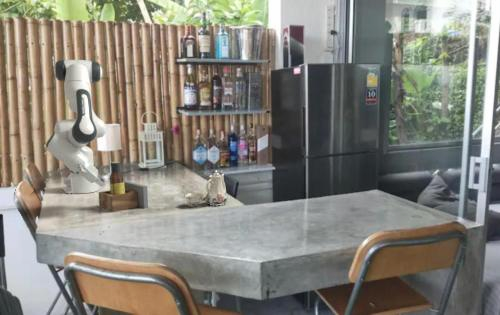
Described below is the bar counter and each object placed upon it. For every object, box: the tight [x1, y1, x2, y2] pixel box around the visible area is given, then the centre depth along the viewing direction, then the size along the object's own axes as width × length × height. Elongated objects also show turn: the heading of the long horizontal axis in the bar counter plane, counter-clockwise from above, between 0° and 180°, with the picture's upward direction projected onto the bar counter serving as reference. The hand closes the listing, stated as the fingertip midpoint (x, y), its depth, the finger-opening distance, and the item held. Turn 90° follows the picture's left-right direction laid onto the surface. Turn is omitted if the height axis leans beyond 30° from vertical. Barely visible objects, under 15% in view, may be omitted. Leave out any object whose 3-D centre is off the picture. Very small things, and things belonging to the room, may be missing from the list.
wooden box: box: [98, 189, 138, 213], centre depth 197 cm, size 12×12×7 cm
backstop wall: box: [124, 180, 149, 209], centre depth 203 cm, size 22×2×10 cm, turn 46°
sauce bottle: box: [109, 161, 125, 195], centre depth 197 cm, size 7×6×20 cm
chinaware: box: [183, 169, 229, 208], centre depth 204 cm, size 28×17×17 cm, turn 153°
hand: (103, 183), depth 195 cm, fingers open, 8 cm apart
